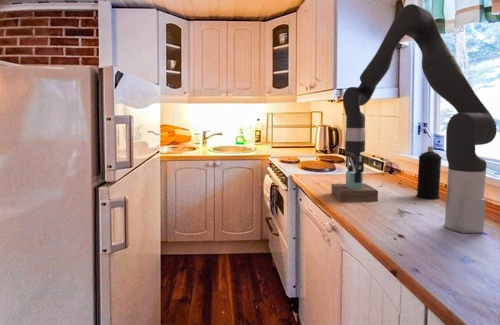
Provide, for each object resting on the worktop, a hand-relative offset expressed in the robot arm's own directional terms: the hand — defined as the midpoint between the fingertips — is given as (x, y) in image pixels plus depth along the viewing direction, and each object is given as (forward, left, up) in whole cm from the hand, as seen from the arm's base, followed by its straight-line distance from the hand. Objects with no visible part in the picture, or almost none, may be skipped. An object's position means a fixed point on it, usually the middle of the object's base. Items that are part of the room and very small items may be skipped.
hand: (353, 180), depth 143 cm
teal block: (0, 0, -3) cm, 3 cm away
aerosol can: (-2, -29, -7) cm, 30 cm away
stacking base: (0, 0, -7) cm, 7 cm away
